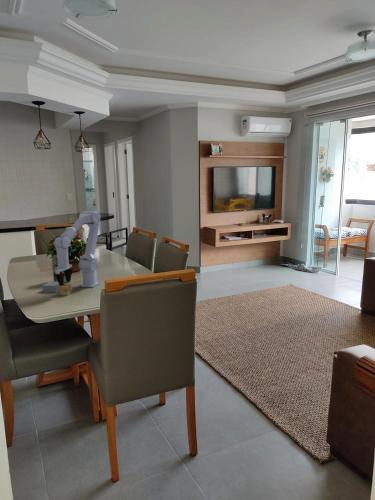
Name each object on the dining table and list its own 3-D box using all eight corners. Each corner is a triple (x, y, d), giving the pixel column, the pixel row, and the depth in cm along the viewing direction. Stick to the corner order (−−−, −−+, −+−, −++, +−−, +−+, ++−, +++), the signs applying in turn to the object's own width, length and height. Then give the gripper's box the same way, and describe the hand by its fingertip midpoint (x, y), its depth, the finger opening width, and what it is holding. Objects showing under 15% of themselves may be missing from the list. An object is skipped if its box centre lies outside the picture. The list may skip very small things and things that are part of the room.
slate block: (51, 288, 210) (50, 281, 209) (63, 288, 208) (62, 282, 208) (42, 292, 202) (42, 285, 202) (55, 292, 201) (55, 285, 200)
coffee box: (69, 279, 227) (67, 254, 224) (69, 282, 221) (67, 256, 218) (54, 280, 224) (52, 255, 221) (53, 283, 218) (51, 257, 215)
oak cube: (64, 292, 200) (63, 283, 200) (72, 292, 200) (71, 284, 199) (59, 295, 196) (58, 286, 195) (67, 295, 195) (67, 286, 194)
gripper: (63, 256, 202) (64, 279, 204) (48, 261, 188) (51, 286, 190) (74, 256, 200) (76, 280, 203) (61, 262, 186) (63, 287, 189)
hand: (64, 283), depth 196 cm, fingers open, 7 cm apart
